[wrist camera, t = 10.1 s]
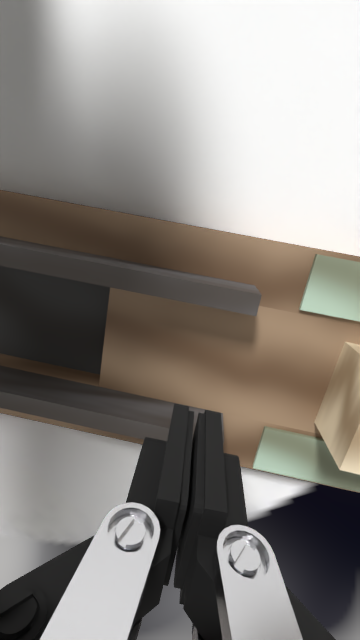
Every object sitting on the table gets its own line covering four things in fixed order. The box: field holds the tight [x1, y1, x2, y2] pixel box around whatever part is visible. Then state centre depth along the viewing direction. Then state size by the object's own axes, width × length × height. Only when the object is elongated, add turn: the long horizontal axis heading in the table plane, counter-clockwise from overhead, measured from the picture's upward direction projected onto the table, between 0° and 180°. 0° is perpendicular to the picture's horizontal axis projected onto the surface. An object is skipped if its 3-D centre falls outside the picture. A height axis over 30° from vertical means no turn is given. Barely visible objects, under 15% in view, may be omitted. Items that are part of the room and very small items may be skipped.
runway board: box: [0, 190, 360, 493], centre depth 21 cm, size 16×38×5 cm, turn 80°
